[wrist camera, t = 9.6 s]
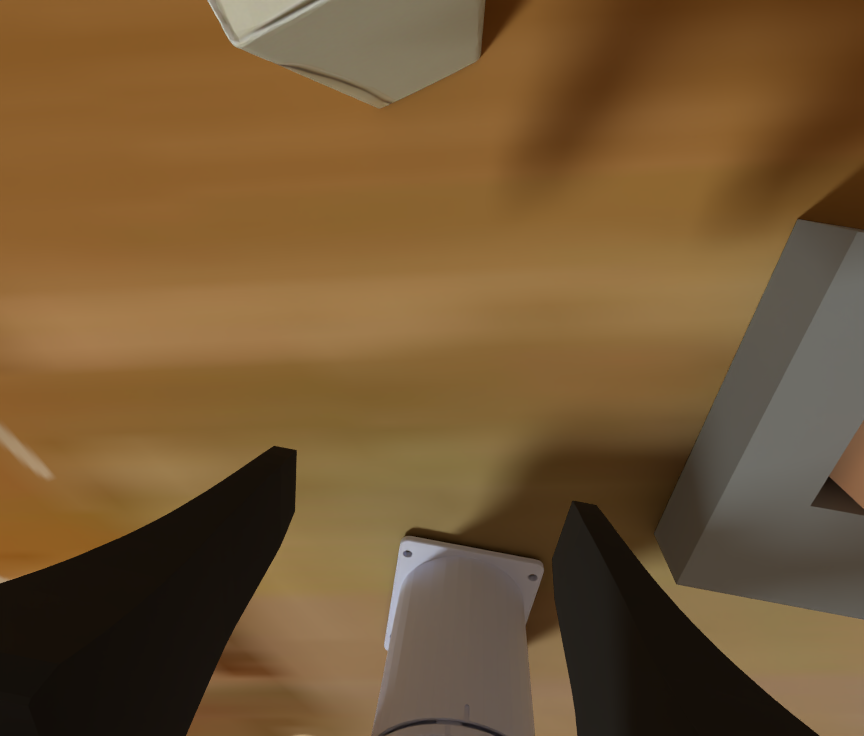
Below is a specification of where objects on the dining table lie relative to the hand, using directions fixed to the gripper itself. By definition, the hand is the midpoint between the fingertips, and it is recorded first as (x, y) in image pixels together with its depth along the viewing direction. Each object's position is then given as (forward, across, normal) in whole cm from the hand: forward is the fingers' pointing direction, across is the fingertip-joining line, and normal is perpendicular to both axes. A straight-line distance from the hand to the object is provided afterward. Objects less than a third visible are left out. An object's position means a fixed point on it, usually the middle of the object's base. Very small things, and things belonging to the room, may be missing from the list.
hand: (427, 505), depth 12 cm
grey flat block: (+10, -18, 0) cm, 21 cm away
